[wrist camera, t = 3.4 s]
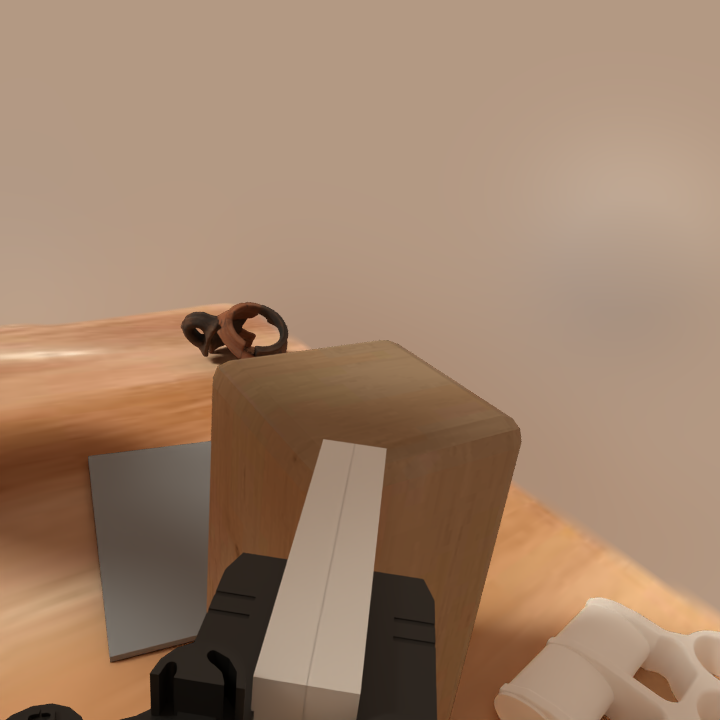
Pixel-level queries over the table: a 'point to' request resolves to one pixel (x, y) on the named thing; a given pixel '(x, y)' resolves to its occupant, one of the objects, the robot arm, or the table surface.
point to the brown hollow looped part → (233, 330)
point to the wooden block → (401, 474)
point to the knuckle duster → (615, 671)
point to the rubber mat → (152, 544)
